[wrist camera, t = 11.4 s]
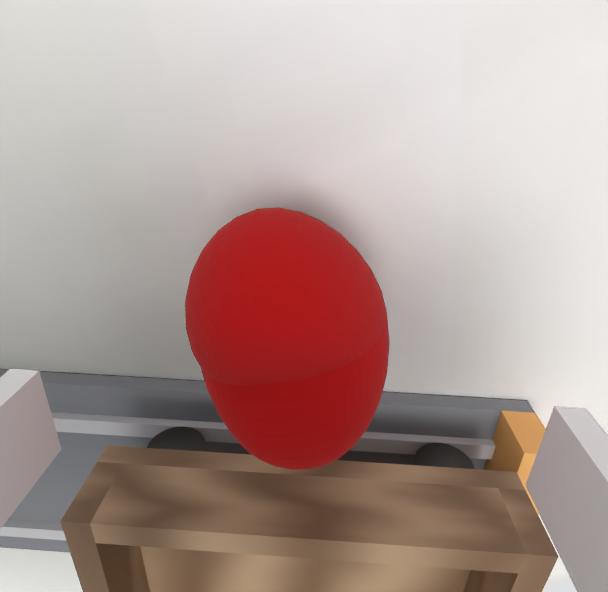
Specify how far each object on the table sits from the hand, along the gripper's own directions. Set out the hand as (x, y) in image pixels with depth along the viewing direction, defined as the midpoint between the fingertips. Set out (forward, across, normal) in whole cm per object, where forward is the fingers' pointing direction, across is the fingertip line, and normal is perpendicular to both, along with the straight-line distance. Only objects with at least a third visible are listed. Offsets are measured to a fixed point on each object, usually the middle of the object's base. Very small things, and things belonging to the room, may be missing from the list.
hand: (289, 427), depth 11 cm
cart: (+9, 0, -15) cm, 17 cm away
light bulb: (+11, 0, 0) cm, 11 cm away
